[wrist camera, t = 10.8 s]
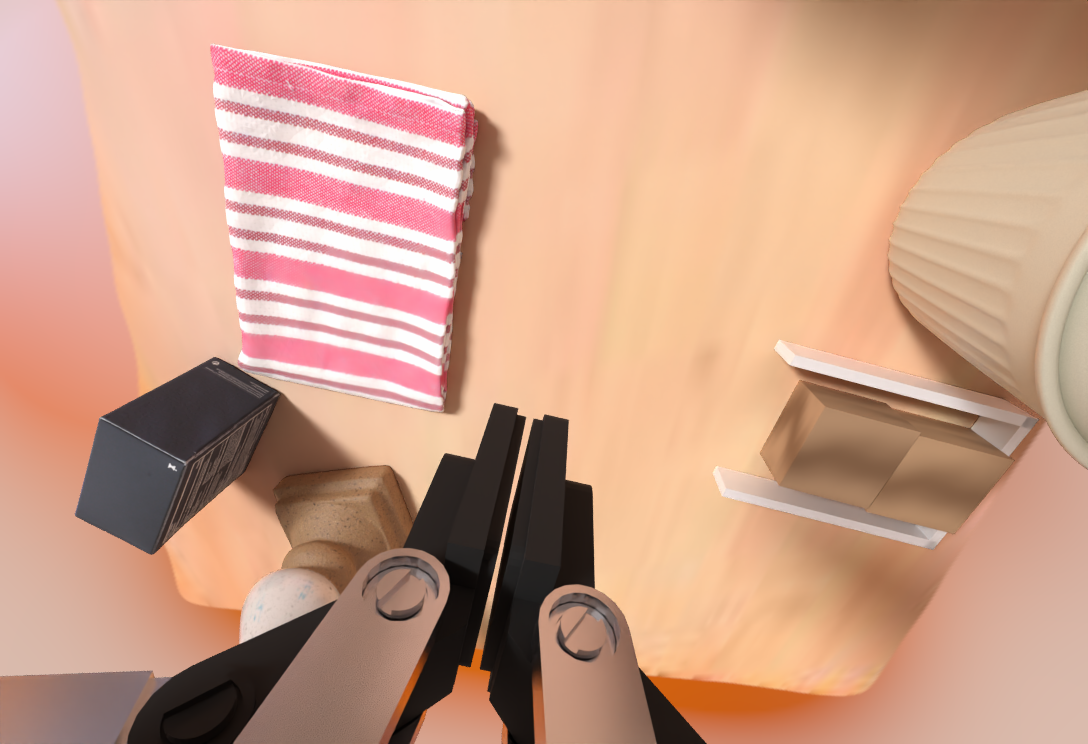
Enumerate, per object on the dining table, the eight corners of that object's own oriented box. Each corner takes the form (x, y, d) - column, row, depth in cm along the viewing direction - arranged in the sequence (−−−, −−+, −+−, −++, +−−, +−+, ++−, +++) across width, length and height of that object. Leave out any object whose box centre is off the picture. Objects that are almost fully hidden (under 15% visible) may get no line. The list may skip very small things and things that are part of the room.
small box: (210, 351, 40) (92, 413, 30) (283, 391, 41) (191, 464, 31) (179, 438, 44) (66, 517, 34) (246, 473, 45) (154, 559, 35)
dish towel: (487, 100, 31) (476, 94, 28) (449, 408, 41) (438, 429, 37) (228, 44, 31) (187, 32, 27) (252, 367, 40) (224, 385, 37)
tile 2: (882, 404, 37) (919, 435, 33) (967, 426, 37) (1014, 460, 33) (838, 475, 40) (866, 511, 36) (917, 495, 40) (954, 534, 36)
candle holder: (281, 476, 45) (-7, 781, 23) (390, 463, 43) (192, 779, 21) (324, 563, 49) (116, 888, 27) (425, 554, 47) (289, 893, 26)
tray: (779, 339, 35) (795, 355, 33) (1004, 399, 36) (1039, 419, 33) (712, 473, 41) (721, 496, 38) (910, 523, 41) (933, 549, 38)
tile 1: (798, 378, 37) (825, 406, 33) (884, 401, 37) (921, 432, 33) (759, 451, 40) (778, 485, 36) (838, 472, 40) (867, 508, 36)
